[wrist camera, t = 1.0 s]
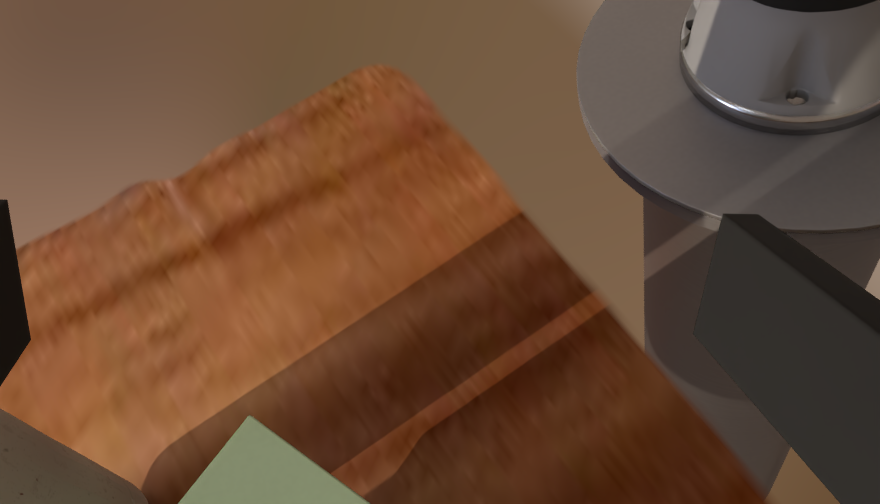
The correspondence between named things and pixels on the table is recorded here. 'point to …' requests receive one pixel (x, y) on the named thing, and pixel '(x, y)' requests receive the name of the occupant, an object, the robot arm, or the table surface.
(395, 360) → the table surface
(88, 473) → the thermos bottle
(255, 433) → the cabinet
